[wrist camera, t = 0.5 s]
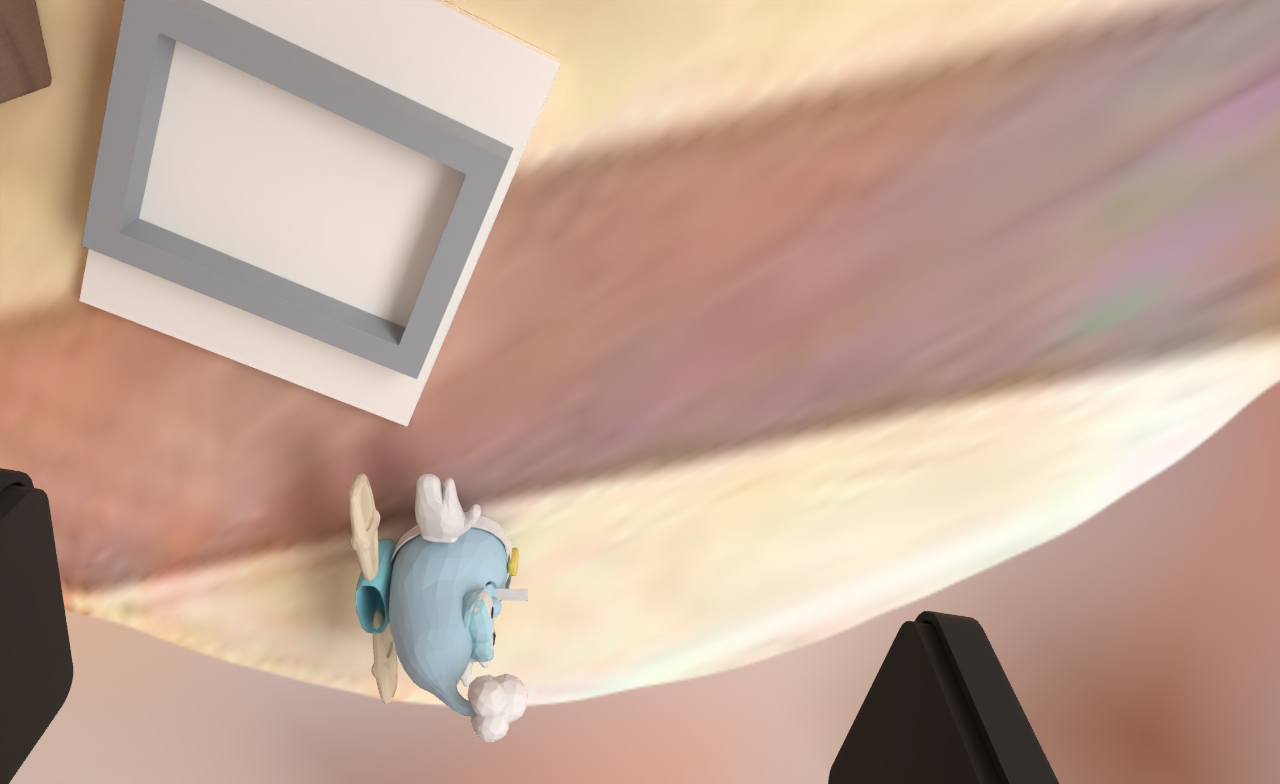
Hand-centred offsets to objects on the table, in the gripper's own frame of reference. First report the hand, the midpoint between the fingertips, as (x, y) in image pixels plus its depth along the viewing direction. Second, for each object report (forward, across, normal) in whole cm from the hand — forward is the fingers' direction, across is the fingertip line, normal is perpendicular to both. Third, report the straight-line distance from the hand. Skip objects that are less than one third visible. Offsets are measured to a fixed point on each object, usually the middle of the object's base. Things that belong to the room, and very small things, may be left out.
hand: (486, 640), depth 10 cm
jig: (+36, +13, +8) cm, 39 cm away
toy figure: (+37, +2, +29) cm, 47 cm away
